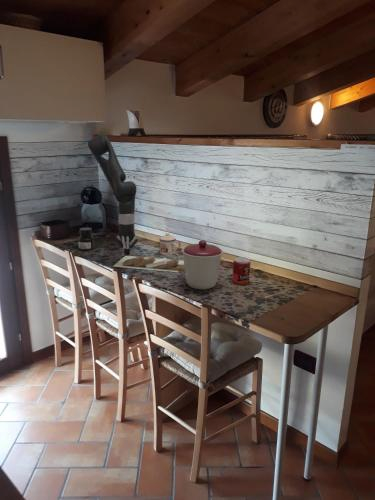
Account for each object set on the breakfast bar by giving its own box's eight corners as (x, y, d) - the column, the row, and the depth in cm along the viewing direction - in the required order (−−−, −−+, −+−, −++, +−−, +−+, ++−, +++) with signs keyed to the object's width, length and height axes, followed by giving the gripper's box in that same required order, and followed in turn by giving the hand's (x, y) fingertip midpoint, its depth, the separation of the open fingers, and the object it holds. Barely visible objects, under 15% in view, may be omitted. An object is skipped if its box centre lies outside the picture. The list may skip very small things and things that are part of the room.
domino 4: (159, 262, 198) (177, 258, 195) (160, 266, 198) (178, 262, 196) (156, 265, 193) (175, 261, 191) (157, 269, 194) (176, 265, 191)
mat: (125, 256, 214) (125, 255, 214) (185, 261, 208) (185, 260, 208) (112, 266, 197) (112, 266, 197) (177, 272, 190) (177, 272, 190)
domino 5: (171, 263, 197) (190, 265, 195) (171, 267, 197) (190, 268, 195) (169, 266, 192) (188, 268, 190) (169, 270, 193) (188, 272, 191)
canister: (229, 285, 175) (231, 240, 170) (203, 296, 163) (205, 248, 157) (199, 275, 187) (200, 233, 181) (172, 285, 174) (173, 240, 169)
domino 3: (148, 261, 199) (166, 257, 196) (149, 265, 200) (167, 260, 197) (145, 264, 194) (164, 260, 192) (146, 268, 195) (165, 263, 192)
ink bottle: (75, 249, 225) (73, 229, 221) (84, 245, 233) (83, 226, 229) (89, 251, 221) (87, 231, 218) (98, 248, 229) (97, 228, 226)
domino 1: (126, 259, 201) (143, 255, 199) (127, 263, 202) (144, 259, 199) (122, 262, 197) (140, 258, 194) (123, 266, 197) (141, 262, 194)
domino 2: (137, 260, 200) (154, 256, 198) (138, 264, 201) (155, 260, 198) (133, 263, 196) (151, 259, 193) (134, 267, 196) (152, 263, 193)
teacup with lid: (156, 253, 221) (156, 233, 218) (167, 250, 227) (167, 230, 224) (170, 257, 213) (170, 237, 210) (182, 254, 220) (182, 234, 216)
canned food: (238, 286, 175) (240, 263, 172) (228, 280, 182) (230, 258, 179) (252, 283, 179) (254, 260, 175) (242, 278, 185) (243, 256, 182)
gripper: (110, 222, 191) (112, 256, 196) (136, 224, 188) (137, 258, 193) (116, 219, 198) (117, 252, 203) (141, 221, 195) (141, 254, 200)
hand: (127, 255), depth 198 cm, fingers closed
